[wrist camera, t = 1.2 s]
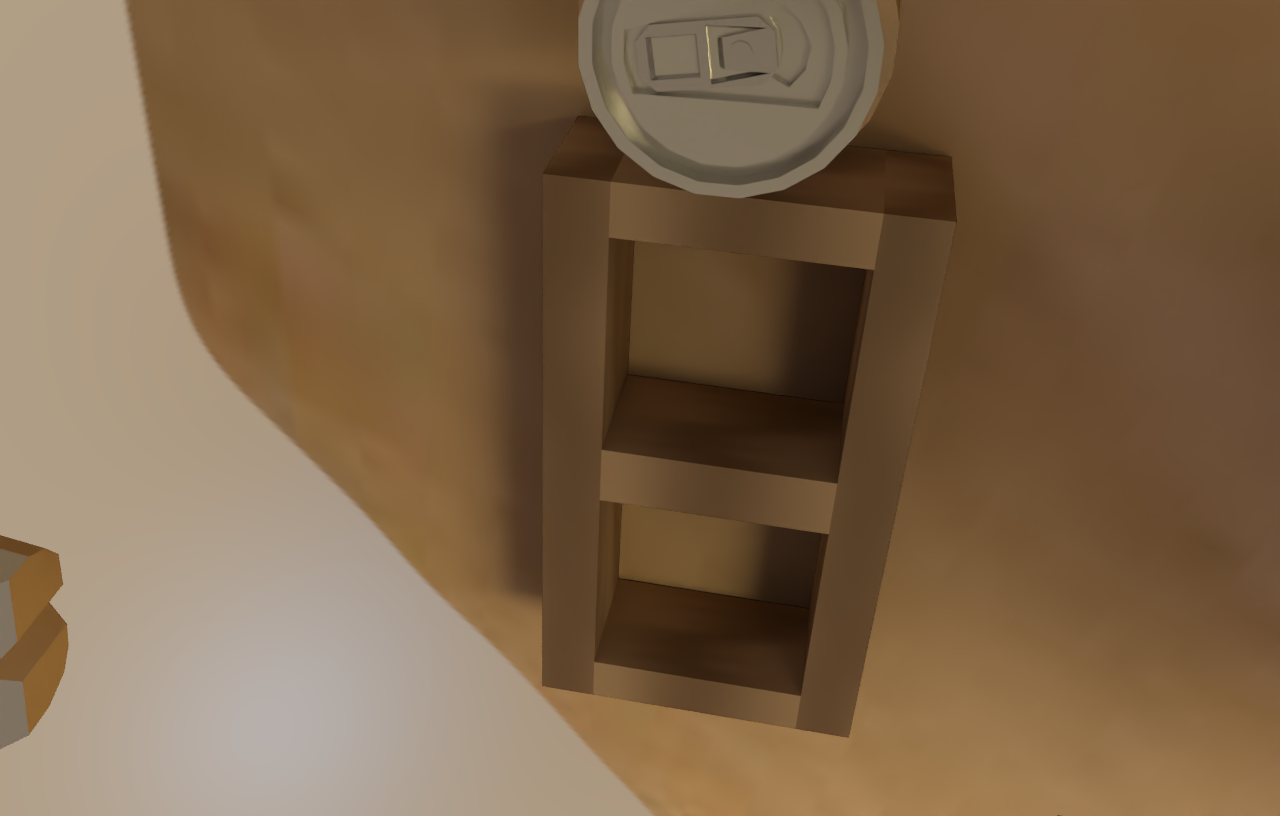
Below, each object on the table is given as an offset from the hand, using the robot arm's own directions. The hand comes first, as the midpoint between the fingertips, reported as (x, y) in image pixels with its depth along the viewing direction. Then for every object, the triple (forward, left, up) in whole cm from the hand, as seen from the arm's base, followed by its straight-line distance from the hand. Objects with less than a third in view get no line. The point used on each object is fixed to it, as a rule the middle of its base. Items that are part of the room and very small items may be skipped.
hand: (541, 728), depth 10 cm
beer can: (0, -1, -25) cm, 25 cm away
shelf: (0, +14, -25) cm, 28 cm away
